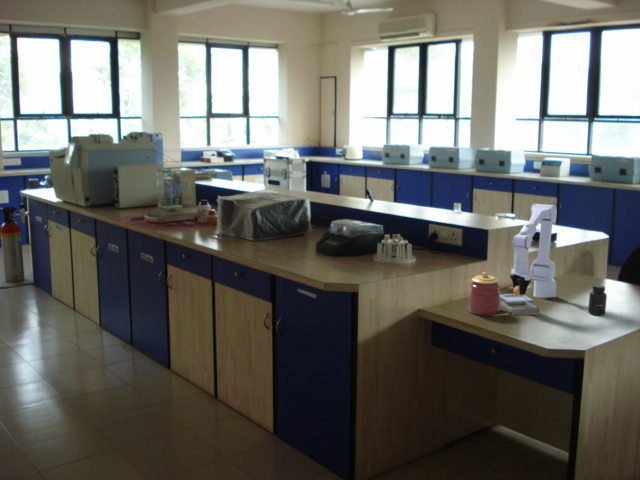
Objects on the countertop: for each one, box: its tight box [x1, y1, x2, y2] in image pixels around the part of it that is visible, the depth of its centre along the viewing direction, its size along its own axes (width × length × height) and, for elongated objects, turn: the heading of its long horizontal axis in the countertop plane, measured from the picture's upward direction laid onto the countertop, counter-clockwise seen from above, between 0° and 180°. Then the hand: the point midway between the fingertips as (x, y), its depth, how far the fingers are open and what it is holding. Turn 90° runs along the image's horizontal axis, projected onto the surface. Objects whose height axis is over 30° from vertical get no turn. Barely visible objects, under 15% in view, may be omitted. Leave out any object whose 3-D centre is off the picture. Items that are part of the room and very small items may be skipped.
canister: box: [468, 271, 501, 316], centre depth 289 cm, size 13×13×18 cm
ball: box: [513, 285, 524, 297], centre depth 292 cm, size 5×5×5 cm
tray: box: [499, 301, 540, 315], centre depth 293 cm, size 12×12×2 cm
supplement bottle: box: [587, 284, 608, 316], centre depth 286 cm, size 7×7×12 cm
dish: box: [500, 293, 534, 303], centre depth 307 cm, size 11×11×2 cm
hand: (519, 292), depth 292 cm, fingers closed on ball, 5 cm apart
